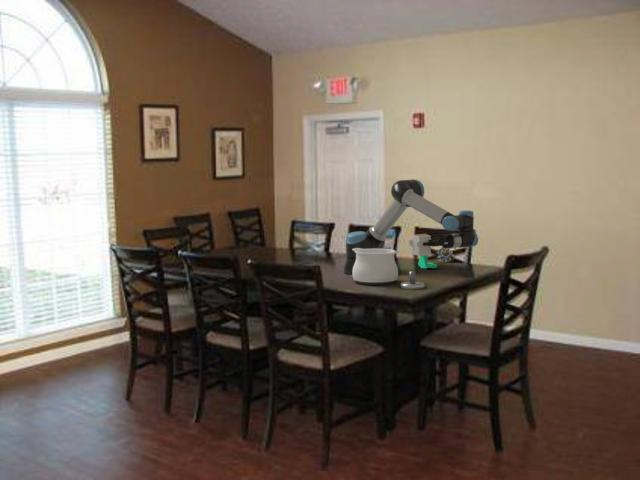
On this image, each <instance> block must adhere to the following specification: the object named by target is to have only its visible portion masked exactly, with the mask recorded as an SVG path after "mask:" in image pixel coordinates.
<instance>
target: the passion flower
mask: <svg viewBox="0 0 640 480" xmlns="http://www.w3.org/2000/svg"><path fill="white" fill-rule="evenodd" d="M450 249H451V248H447V249H445V248H443V247H442V246H441V248H439V249H436V250H435V254H437V256H436V259H440V261H441V262H444V263H445V264H446V263H447V262H448V260H449V261H452V262H455V261H454V259H455V258H454V257H455V254H454V253H453V251H451V250H450Z"/></svg>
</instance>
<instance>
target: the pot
mask: <svg viewBox="0 0 640 480" xmlns="http://www.w3.org/2000/svg"><path fill="white" fill-rule="evenodd" d="M352 250H353V251H355V250H356V251H355V253H356V261H355V264H354V266H353V271H352V274H351V275H352V278H353V280H354V282H355V283H357V284H360V285H365V286H386V285H391V284H394V283H395V282H396V281H397V279H398V277H399V269H398V266H397V264H396V263H397V262H396V260H395V255H396V254H399V252H400V251H399V250H398V251H396V250H395V249H390V248H382V249H361V248H354V249H352Z"/></svg>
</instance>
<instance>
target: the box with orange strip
mask: <svg viewBox="0 0 640 480" xmlns="http://www.w3.org/2000/svg"><path fill="white" fill-rule="evenodd" d="M411 240H412V245H411V254H412V256H413V255H415V256H418V257H420V256H423V255H428V256H430V255H432V252H431V251H432V250H431V249H432V246H429V245H428V246H425V247H416V242H419V241H428V242H429V240H431V235H429V234H427V233H418V234H412V235H411Z"/></svg>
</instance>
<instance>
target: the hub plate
mask: <svg viewBox="0 0 640 480" xmlns="http://www.w3.org/2000/svg"><path fill="white" fill-rule="evenodd" d="M424 288H425V282H423V281H416V271H409V281H402V282H400V289H403V290H421V289H424Z"/></svg>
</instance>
